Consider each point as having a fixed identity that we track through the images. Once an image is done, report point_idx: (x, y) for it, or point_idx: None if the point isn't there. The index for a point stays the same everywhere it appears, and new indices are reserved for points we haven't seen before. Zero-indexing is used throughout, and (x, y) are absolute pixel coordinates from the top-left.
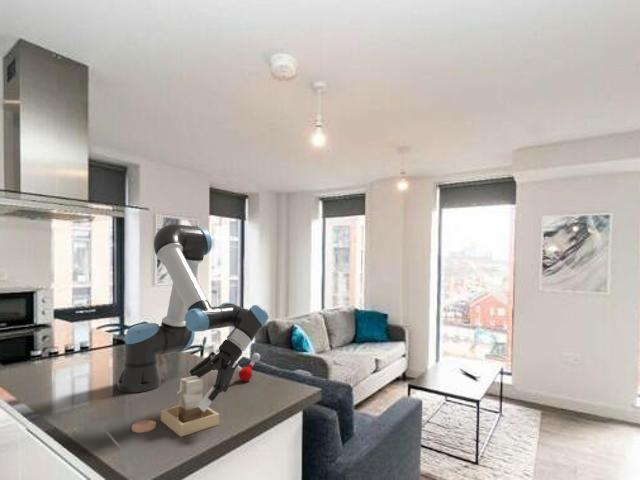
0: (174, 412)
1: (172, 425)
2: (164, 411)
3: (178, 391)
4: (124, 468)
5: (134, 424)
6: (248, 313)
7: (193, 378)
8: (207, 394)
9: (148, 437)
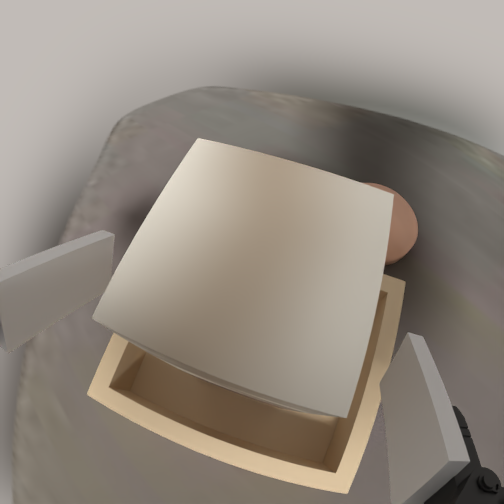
0: (368, 344)
1: None
2: None
3: (426, 346)
4: (212, 94)
5: (404, 205)
6: None
7: (263, 288)
8: (41, 256)
9: None
